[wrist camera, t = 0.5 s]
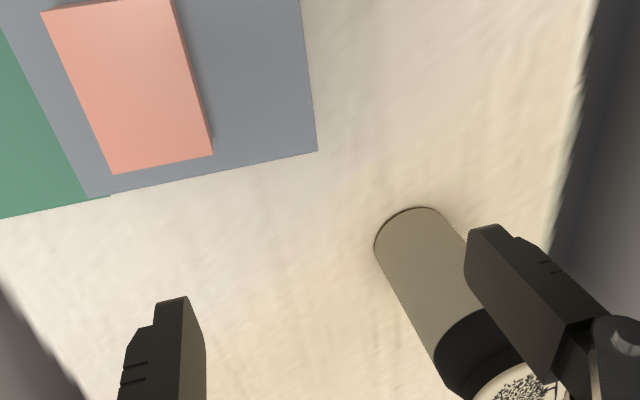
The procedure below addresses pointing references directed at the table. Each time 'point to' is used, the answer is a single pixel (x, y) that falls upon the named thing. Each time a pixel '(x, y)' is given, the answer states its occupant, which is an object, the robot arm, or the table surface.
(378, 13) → the table surface
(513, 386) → the travel mug
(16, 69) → the mat
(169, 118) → the pink slab
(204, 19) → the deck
